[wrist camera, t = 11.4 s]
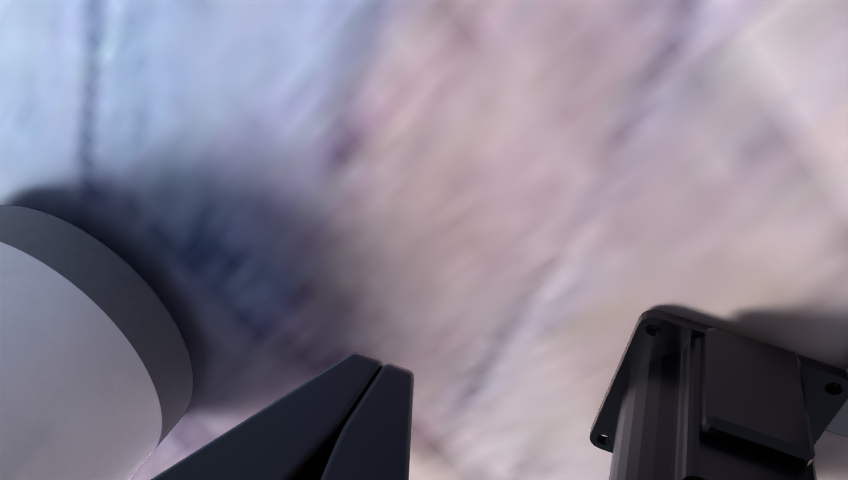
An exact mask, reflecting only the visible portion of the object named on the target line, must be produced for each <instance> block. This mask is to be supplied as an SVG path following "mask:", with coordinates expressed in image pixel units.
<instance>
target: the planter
mask: <svg viewBox="0 0 848 480" xmlns="http://www.w3.org/2000/svg"><path fill="white" fill-rule="evenodd" d="M192 392H193V372H192V365H191V361H190V357H189V353H188V350H187V347H186V345H185V342H184V340H183V337H182V335H181V333H180V331H179V329H178V327H177V325H176V323H175V321H174V320H173V318H172V316H171V315H170V313H169V312H168V310H167V308H166V307H165V306H164V304H163V303H162V301H161V300H160V299H159V297H158V296H157V295H156V293H155V292H154V291H153V290H152V288H151V287H150V286H149V285H148V284H147V283H146V281H145V280H144V279H143V278H142V277H141V276H140V275H139V274H138V273H137V272H136V271H135V270H134V269H133V268H132V267H131V266H130V265H129V264H128V263H127V262H126V261H124V260H123V259H122V258H121V257H120V256H119V255H117V254H116V253H115V252H114V251H112V250H111V249H110V248H109V247H107V246H106V245H104V244H103V243H102V242H100V241H99V240H97V239H96V238H94V237H93V236H91V235H90V234H88V233H87V232H85V231H83V230H81V229H80V228H78V227H76V226H74V225H72V224H70V223H68V222H66V221H64V220H62V219H60V218H57V217H55V216H52V215H50V214H47V213H44V212H41V211H38V210H34V209H30V208H25V207H20V206H10V205H0V480H130V479H131V478H132V476H133V475H134V474H135V473H136V472H137V470H138V469H139V468H140V467H141V466H142V464H143V463H144V462H145V461H146V460H147V458H148V457H149V456H150V455H151V454H152V452H153V451H154V450H155V449H156V448H157V446H158V445H159V444H160V443H161V442H162V440H163V439H164V438H165V437H166V436H167V434H168V433H169V432H170V431H171V430H172V429H173V427H174V426H175V425H176V424H177V423H178V421H179V420H180V419H181V418H182V416H183V415H184V414H185V412H186V410H187V408H188V406H189V404H190V401H191V397H192Z"/></svg>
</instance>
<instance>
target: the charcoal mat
mask: <svg viewBox="0 0 848 480" xmlns="http://www.w3.org/2000/svg"><path fill="white" fill-rule="evenodd" d="M845 371H846V372H847V373H848V367H847V369H846V370H845ZM836 385H839V383H836V384H835V386H836ZM840 385H841V384H840ZM842 389H843V387H842V385H841V390H842ZM825 430H827V431H830V432H833V433H836V434H839V435H842V436H845V437H848V399H847V401H846V402H845V403H844V405H843V406H842V408H841V409H840V410H839V412H838V413H837V414H836V416H835V417H834V418H833V420H832V421H831V422H830V424H829V425H828V427H827V428H826V429H825Z"/></svg>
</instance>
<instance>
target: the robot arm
mask: <svg viewBox="0 0 848 480" xmlns="http://www.w3.org/2000/svg"><path fill="white" fill-rule="evenodd" d="M649 324H657V325H659V326H661V327H660V328H657V329H655V328H651V327H649V326H648V325H649ZM832 382H836V383H839V385H836V386H828V385H827V384H828V383H832ZM840 384H841V385H842V387H843V389H842V390H841V385H840ZM413 386H414V375H413V373H412V372H411V371H410V370H407V369H404V368H401V367H398V366H396V365H393V364H390V363H387V364H385V365H383V362H382V361H381V360H379V359H376V358H373V357H371V356H368V355H365V354H362V353H359V352H356V353H352V354H350V355H349V356H347V357H345V358H344V359H342V360H341V361H339V362H337V363H336V364H334V365H333V366H331V367H330V368H328V369H326V370H325V371H323V372H322V373H320V374H318V375H317V376H315V377H314V378H312V379H310V380H309V381H307V382H306V383H304V384H302V385H301V386H299V387H298V388H296V389H294V390H293V391H291V392H290V393H288V394H286V395H285V396H283V397H282V398H280V399H279V400H277V401H275V402H274V403H272V404H271V405H269V406H267V407H266V408H264V409H263V410H261V411H259V412H258V413H256V414H255V415H253V416H251V417H250V418H248V419H247V420H245V421H243V422H242V423H240V424H239V425H237V426H235V427H234V428H232V429H231V430H229V431H228V432H226V433H224V434H223V435H221V436H220V437H218V438H216V439H215V440H213V441H212V442H210V443H208V444H207V445H205V446H204V447H202V448H200V449H199V450H197V451H196V452H194V453H192V454H191V455H189V456H188V457H186V458H184V459H183V460H181V461H180V462H178V463H177V464H175V465H173V466H172V467H170V468H169V469H167V470H165V471H164V472H162V473H161V474H159V475H157V476H156V477H154V478H153V479H151V480H409V462H410V443H411V424H412V405H413ZM847 399H848V373H847V372H846V371H844V370H842V369H840V368H837V367H834V366H831V365H827V364H824V363H821V362H818V361H815V360H812V359H809V358H806V357H802V356H799V355H796V354H795V353H793V352H790V351H787V350H784V349H781V348H778V347H775V346H772V345H768V344H765V343H762V342H759V341H756V340H753V339H750V338H747V337H743V336H740V335H737V334H734V333H731V332H728V331H725V330H722V329H718V328H712V327H709V326H706V325H703V324H699V323H696V322H693V321H690V320H687V319H684V318H681V317H678V316H674V315H671V314H668V313H665V312H662V311H658V310H649V311H646V312H644V313H642V314H641V316H640V317H639V319H638V321H637V324H636V326H635V328H634V331H633V333H632V335H631V337H630V340H629V342H628V344H627V347H626V349H625V351H624V354H623V356H622V358H621V360H620V363H619V365H618V367H617V370H616V372H615V374H614V377H613V379H612V381H611V383H610V386H609V388H608V390H607V393H606V395H605V397H604V400H603V402H602V404H601V406H600V409H599V411H598V413H597V416H596V418H595V420H594V423H593V425H592V427H591V433H590V441H591V443H592V444H593V445H594V446H596V447H598V448H600V449H603V450H605V451H608V452H611V453H613V456H612V463H611V470H610V476H609V480H817V478H816V472H815V465H814V456H815V452H814V444H815V443H816V441H817V440H818V439H819V437H820V436H821V435H822V433H823V432H824V431H825V429H826V428H827V427H828V425H829V424H830V422H831V421H832V420H833V418H834V417H835V416H836V414H837V413H838V412H839V410H840V409H841V408H842V406H843V405H844V403H845V402H846V401H847ZM602 435H606V436H608V437H604V436H602Z"/></svg>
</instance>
